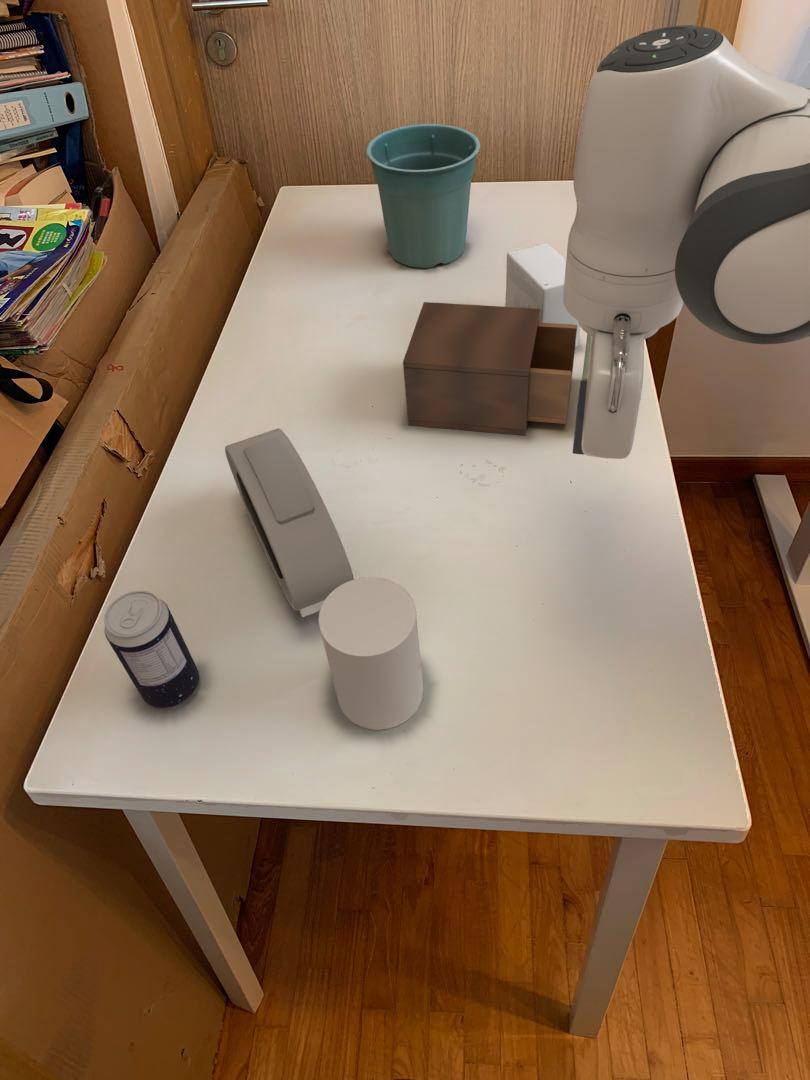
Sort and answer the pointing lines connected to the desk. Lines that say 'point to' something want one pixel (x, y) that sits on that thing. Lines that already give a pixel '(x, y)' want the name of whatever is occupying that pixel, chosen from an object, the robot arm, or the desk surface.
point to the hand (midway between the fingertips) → (602, 424)
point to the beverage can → (151, 648)
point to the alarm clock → (289, 519)
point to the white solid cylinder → (373, 651)
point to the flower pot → (424, 190)
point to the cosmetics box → (538, 284)
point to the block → (579, 419)
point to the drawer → (553, 372)
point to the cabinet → (470, 367)
